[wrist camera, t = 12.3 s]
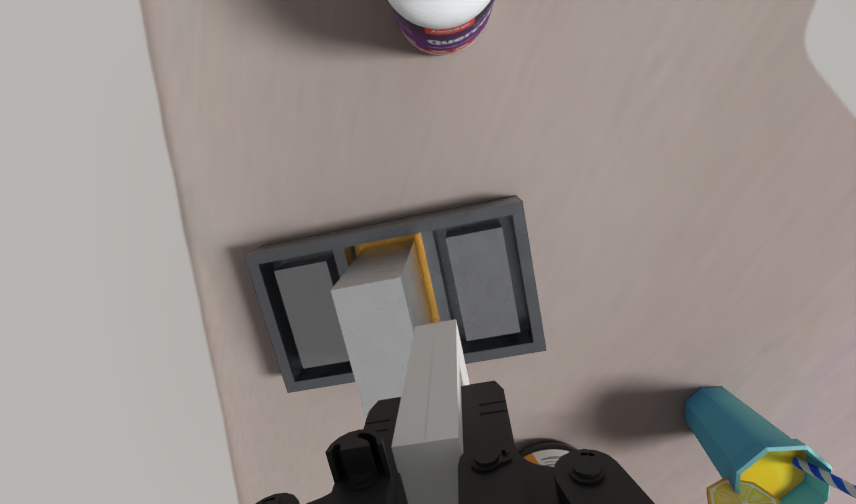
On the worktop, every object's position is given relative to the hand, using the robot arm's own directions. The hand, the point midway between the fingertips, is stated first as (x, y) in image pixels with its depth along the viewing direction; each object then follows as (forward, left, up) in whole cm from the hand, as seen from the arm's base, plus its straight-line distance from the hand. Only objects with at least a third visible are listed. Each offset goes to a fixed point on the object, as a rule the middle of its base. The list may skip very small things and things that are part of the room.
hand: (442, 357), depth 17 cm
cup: (+24, +23, -28) cm, 43 cm away
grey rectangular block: (+6, -6, -27) cm, 28 cm away
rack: (+6, -6, -27) cm, 29 cm away
